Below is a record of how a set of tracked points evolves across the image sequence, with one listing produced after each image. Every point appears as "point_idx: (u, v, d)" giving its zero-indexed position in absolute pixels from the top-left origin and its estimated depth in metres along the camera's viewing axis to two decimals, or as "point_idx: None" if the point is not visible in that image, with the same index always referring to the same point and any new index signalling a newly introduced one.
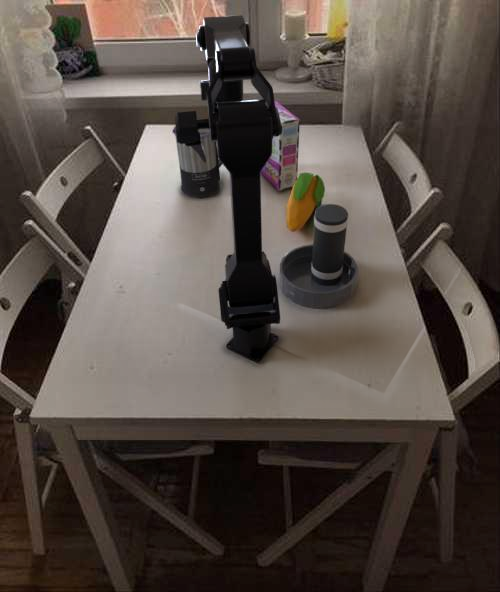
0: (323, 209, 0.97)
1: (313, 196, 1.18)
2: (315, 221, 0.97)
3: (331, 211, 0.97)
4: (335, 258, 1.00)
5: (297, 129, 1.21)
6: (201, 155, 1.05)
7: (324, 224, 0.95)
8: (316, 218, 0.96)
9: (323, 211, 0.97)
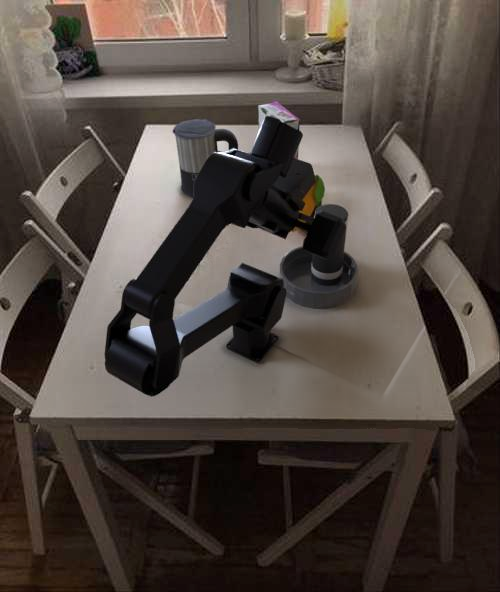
0: (323, 209, 0.97)
1: (313, 196, 1.18)
2: None
3: (331, 211, 0.97)
4: (335, 258, 1.00)
5: (297, 129, 1.21)
6: None
7: None
8: None
9: None
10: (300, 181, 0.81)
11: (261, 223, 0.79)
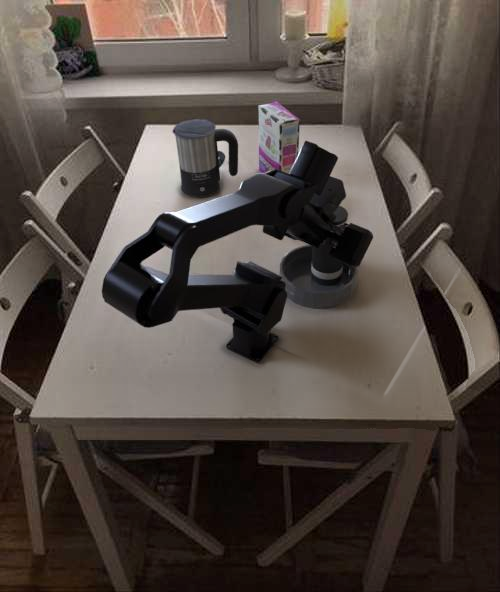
0: None
1: None
2: None
3: None
4: (335, 258, 1.00)
5: (297, 129, 1.21)
6: None
7: None
8: None
9: None
10: (332, 196, 0.90)
11: (297, 235, 0.88)
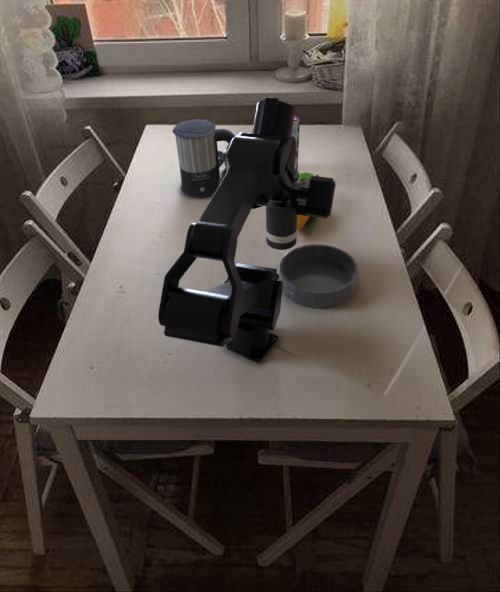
0: None
1: None
2: None
3: None
4: (293, 218, 0.99)
5: (297, 129, 1.21)
6: None
7: None
8: None
9: None
10: (290, 153, 0.88)
11: (272, 197, 0.85)
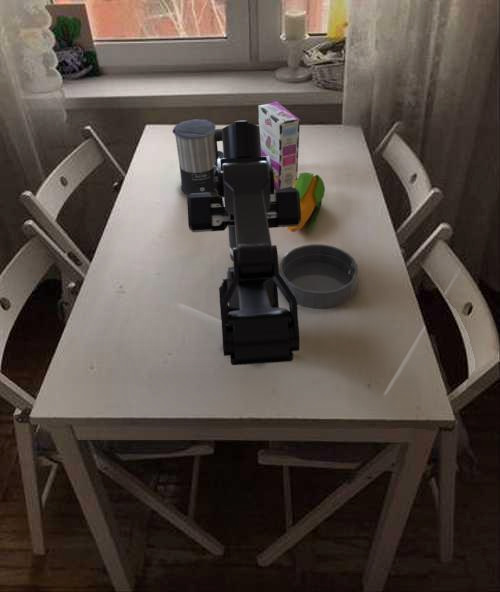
0: None
1: (313, 196, 1.18)
2: None
3: None
4: None
5: (297, 129, 1.21)
6: None
7: None
8: None
9: None
10: None
11: None
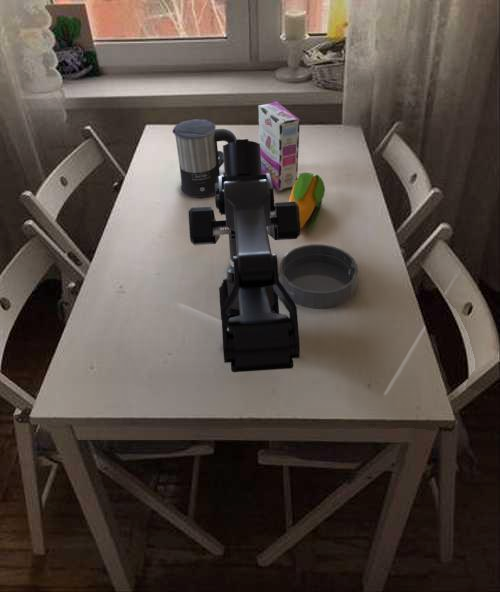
0: None
1: (313, 196, 1.18)
2: None
3: None
4: None
5: (297, 129, 1.21)
6: None
7: None
8: None
9: None
10: None
11: None
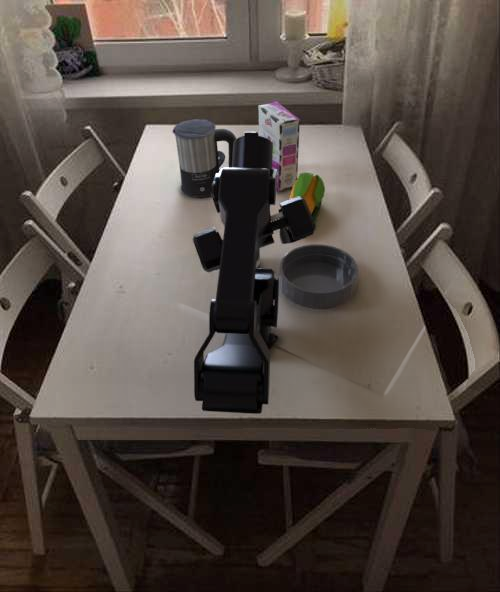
0: None
1: (313, 196, 1.18)
2: None
3: None
4: None
5: (297, 129, 1.21)
6: None
7: None
8: None
9: None
10: None
11: (264, 231, 0.81)
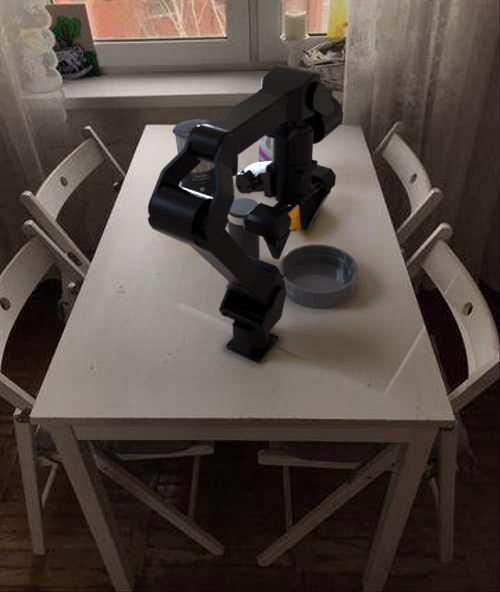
0: (233, 206, 1.00)
1: None
2: (234, 219, 0.98)
3: (241, 204, 1.00)
4: (257, 245, 1.04)
5: None
6: (282, 248, 0.87)
7: None
8: (235, 216, 0.98)
9: (235, 208, 0.99)
10: (269, 161, 0.88)
11: None
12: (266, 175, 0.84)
